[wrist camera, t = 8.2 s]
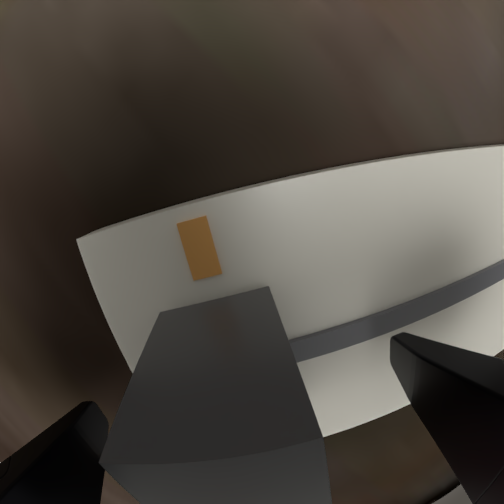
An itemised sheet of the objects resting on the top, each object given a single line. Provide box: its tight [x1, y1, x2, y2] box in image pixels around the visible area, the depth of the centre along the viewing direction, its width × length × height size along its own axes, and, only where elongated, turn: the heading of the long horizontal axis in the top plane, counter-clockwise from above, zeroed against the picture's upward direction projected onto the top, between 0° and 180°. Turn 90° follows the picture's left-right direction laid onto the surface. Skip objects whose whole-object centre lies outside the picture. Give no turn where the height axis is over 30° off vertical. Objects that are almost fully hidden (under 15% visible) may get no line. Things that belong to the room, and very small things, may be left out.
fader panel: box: [76, 144, 504, 437], centre depth 9 cm, size 19×10×2 cm, turn 104°
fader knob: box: [99, 286, 332, 504], centre depth 6 cm, size 3×5×5 cm, turn 14°
